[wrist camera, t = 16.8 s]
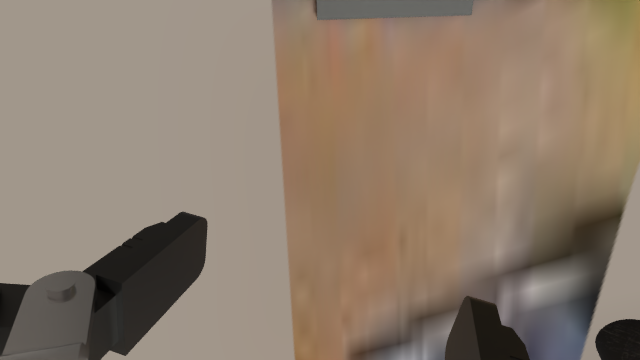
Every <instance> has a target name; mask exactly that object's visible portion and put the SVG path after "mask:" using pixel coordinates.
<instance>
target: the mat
mask: <svg viewBox="0 0 640 360" xmlns="http://www.w3.org/2000/svg"><path fill="white" fill-rule="evenodd" d="M472 7H473V0H317V20H330V19H362V18H394V17H426V16H458V15H472Z"/></svg>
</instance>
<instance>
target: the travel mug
mask: <svg viewBox="0 0 640 360" xmlns="http://www.w3.org/2000/svg"><path fill="white" fill-rule="evenodd" d="M595 343H596V348H597V351H598V353H599V355H600V358H601V360H640V320H635V319H625V320H619V321H615V322H612V323H610V324H608V325H606V326H605V327H603V329H601V330H600V331H599V333H598V335H597V337H596V341H595Z"/></svg>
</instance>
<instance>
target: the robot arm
mask: <svg viewBox="0 0 640 360" xmlns="http://www.w3.org/2000/svg"><path fill="white" fill-rule="evenodd" d="M206 239H207V220H206V219H205V218H203V217H200V216H196V215H193V214H189V213H186V212H181V213H179V214H178V215H176V216H175V217H174V218H172V219H171V220H170V221H168V222H167V223H164V222H161V223H158V224H155V225H152V226H149V227H146V228H144V229H143V230H141V231H140V232H139V233H137V234H136V235H134V236H133V238H132V239H129V240H127V241H126V242H124V243H123V244H122V246H119V247H117V248H116V249H114V250H113V251H111V252H110V253H108V254H107V255H106V256H104V257H103V258H101V259H100V260H98V261H97V262H96V263H94V264H93V265H91V266H90V267H88V268H87V269H85V270H84V271H83V272H81V271H62V272H57V273H53V274H50V275H47V276H45V277H42V278H41V279H39V280H37V281H36V282H34V283H33V284H32V285H20V284H4V283H0V360H101V358H102V357H103V356H104V355H105V354H106V353H107V352H108V351H109V350H111V351H113V352H116V353H119V354H122V355H124V356H126V355H127V354H128V353H129V352H130V350H131V349H132V348H133V347H134V346H135V345H136V344H137V342H139V341H140V340H141V339H142V337H143V336H144V335H145V334H146V333H147V332H148V331H149V330H150V329H151V327H153V325H155V323H156V322H157V321H158V320H159V319H160V318H161V317H162V316H163V315H164V314H165V313H166V312H167V310H168V309H169V308H170V307H171V306H172V305H173V304H174V303H175V302H176V301H177V300H178V298H179V297H180V296H181V295H182V294H183V293H184V292H185V291H186V290H187V289H188V288H189V287H190V286H191V285H192V283H193V282H194V281H195V280H196V279H197V278H198V277H199V275H200V273H201V271H202V269H203V267H204V263H205V256H206ZM445 360H530V359H529V356H528V353H527V350H526V347H525V344H524V343H523V342H522V341H521V339H520V338H519V337H518V335H517V334H516V333H515V331H514V330H513V329H512V328H510V327H506V326H503V325H501V321H500V317H499V314H498V310H497V307H496V305H495V304H494V303H490V302H487V301H484V300H480V299H477V298H473V297H470V296H466V297H465V298H464V300H463V302H462V305H461V307H460V310H459V312H458V315H457V317H456V320H455V322H454V325H453V327H452V329H451V332H450V334H449V337H448V340H447V345H446V351H445Z"/></svg>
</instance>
